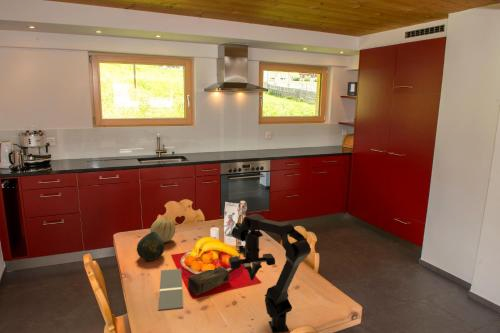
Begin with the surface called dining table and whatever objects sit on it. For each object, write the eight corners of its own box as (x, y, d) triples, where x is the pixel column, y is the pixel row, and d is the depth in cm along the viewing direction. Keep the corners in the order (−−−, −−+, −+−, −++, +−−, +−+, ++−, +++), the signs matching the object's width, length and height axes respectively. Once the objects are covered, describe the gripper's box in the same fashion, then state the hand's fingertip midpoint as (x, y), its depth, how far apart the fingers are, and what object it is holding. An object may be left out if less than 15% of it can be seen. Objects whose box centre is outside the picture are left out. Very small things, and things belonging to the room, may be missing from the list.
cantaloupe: (145, 244, 205) (145, 220, 202) (159, 235, 219) (158, 213, 216) (167, 248, 201) (167, 223, 198) (179, 238, 214) (179, 216, 212)
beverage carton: (229, 282, 165) (229, 269, 163) (196, 297, 152) (196, 283, 150) (219, 276, 170) (219, 264, 169) (186, 289, 157) (186, 276, 156)
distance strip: (182, 307, 143) (182, 306, 143) (158, 310, 141) (158, 309, 140) (181, 269, 175) (181, 268, 175) (161, 271, 173) (161, 270, 173)
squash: (130, 255, 177) (150, 233, 178) (132, 245, 192) (150, 224, 193) (152, 270, 182) (171, 248, 183) (152, 259, 196) (170, 239, 197)
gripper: (268, 236, 150) (267, 269, 152) (226, 239, 145) (226, 273, 148) (276, 245, 139) (275, 281, 142) (231, 249, 135) (231, 286, 137)
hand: (251, 280), depth 142 cm, fingers closed
